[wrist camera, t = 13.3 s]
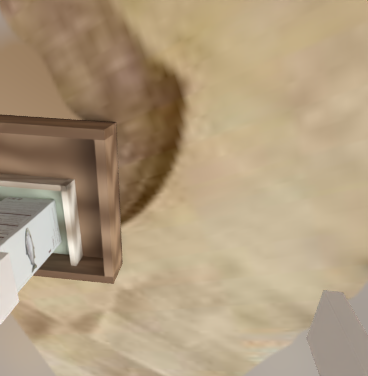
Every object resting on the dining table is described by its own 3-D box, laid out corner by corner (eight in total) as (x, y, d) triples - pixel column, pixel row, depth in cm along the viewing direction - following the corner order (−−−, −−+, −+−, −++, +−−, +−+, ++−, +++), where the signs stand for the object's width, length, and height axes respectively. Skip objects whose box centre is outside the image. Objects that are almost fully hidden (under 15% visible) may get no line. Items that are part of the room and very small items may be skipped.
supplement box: (63, 242, 43) (9, 307, 31) (16, 238, 43) (-54, 300, 32) (57, 198, 40) (-6, 251, 28) (6, 194, 40) (-75, 245, 29)
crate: (-35, 112, 37) (-65, 118, 33) (116, 122, 36) (104, 129, 32) (0, 251, 46) (-21, 270, 42) (122, 263, 45) (113, 283, 40)
